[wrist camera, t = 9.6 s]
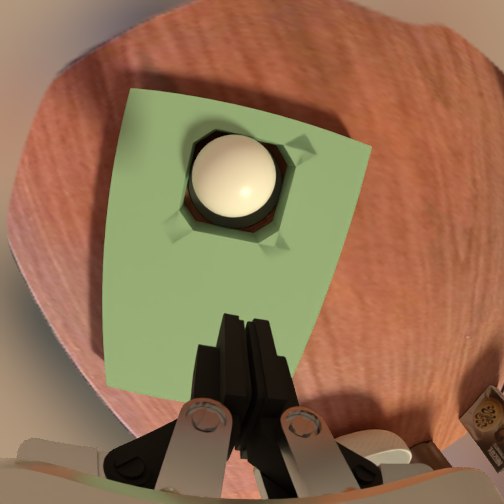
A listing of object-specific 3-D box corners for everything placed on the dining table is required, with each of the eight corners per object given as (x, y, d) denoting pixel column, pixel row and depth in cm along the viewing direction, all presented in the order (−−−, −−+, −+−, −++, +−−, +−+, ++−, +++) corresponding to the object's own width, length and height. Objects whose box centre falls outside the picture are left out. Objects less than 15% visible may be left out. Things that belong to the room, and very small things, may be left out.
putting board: (140, 94, 17) (130, 87, 15) (356, 146, 20) (371, 146, 18) (113, 368, 25) (106, 385, 22) (272, 393, 27) (276, 411, 25)
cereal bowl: (386, 452, 37) (401, 482, 30) (291, 483, 36) (299, 517, 30) (401, 394, 31) (425, 432, 24) (276, 435, 30) (286, 482, 24)
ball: (209, 108, 15) (182, 175, 14) (291, 132, 16) (281, 202, 14) (201, 158, 20) (180, 219, 18) (268, 176, 21) (256, 238, 19)
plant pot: (358, 471, 38) (386, 540, 23) (437, 422, 36) (478, 486, 21) (380, 485, 44) (403, 538, 28) (443, 445, 42) (474, 495, 27)
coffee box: (468, 420, 39) (504, 470, 24) (457, 419, 38) (496, 475, 23) (498, 387, 37) (539, 435, 22) (490, 383, 36) (535, 436, 20)
